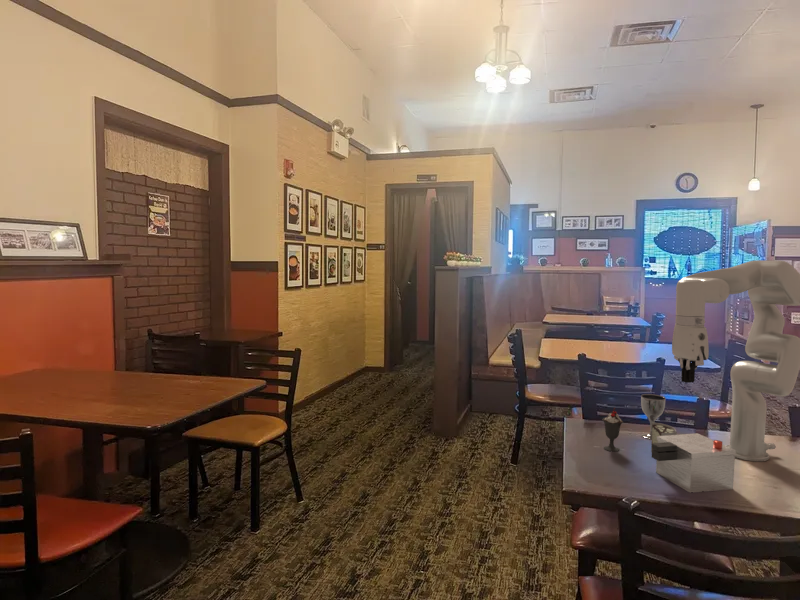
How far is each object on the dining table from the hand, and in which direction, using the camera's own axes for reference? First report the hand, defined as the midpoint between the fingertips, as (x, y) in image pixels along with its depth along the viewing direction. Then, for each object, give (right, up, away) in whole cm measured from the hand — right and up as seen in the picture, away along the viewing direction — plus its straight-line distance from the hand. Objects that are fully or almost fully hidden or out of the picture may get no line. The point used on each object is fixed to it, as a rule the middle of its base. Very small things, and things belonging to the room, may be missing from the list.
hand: (687, 381), depth 156 cm
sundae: (-14, -27, +22) cm, 37 cm away
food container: (+1, -28, +15) cm, 31 cm away
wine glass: (+6, -26, +35) cm, 44 cm away
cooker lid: (-3, -19, -4) cm, 19 cm away
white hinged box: (-3, -29, -3) cm, 29 cm away
